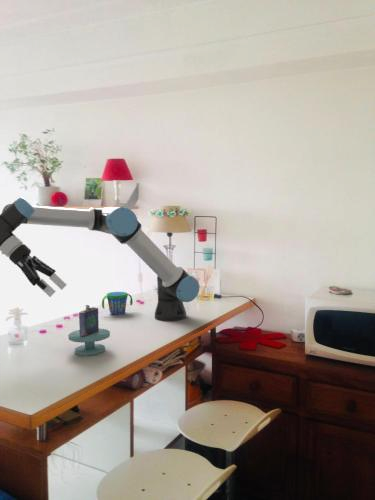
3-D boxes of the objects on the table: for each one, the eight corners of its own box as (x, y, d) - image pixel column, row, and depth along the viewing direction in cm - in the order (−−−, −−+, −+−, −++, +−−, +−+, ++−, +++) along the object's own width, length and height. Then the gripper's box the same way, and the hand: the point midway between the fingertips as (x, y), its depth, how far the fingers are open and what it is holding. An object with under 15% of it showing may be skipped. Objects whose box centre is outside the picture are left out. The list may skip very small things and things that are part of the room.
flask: (83, 337, 160) (82, 308, 159) (77, 336, 161) (76, 307, 160) (100, 331, 168) (99, 303, 167) (94, 330, 169) (93, 302, 168)
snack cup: (129, 309, 231) (129, 290, 230) (135, 313, 221) (135, 293, 220) (100, 312, 224) (99, 293, 223) (104, 317, 215) (103, 296, 214)
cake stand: (113, 344, 172) (113, 327, 172) (106, 357, 157) (105, 339, 157) (75, 344, 173) (74, 328, 172) (63, 357, 158) (63, 340, 157)
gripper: (22, 254, 175) (62, 291, 176) (-7, 262, 150) (40, 305, 151) (35, 240, 174) (74, 277, 175) (8, 246, 149) (54, 289, 151)
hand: (58, 290), depth 163 cm, fingers open, 13 cm apart
